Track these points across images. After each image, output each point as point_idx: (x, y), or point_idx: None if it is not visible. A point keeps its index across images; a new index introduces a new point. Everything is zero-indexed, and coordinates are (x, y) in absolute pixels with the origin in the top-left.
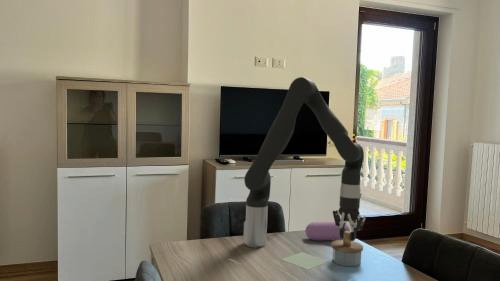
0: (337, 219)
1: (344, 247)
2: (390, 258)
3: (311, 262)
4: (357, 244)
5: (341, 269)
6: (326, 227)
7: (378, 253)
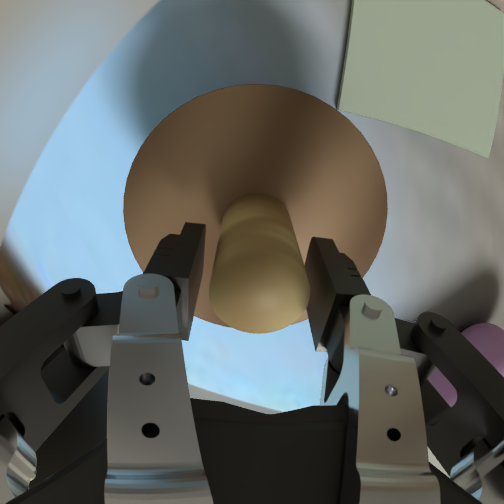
0: (458, 388)
1: (241, 147)
2: None
3: (401, 36)
4: (201, 292)
5: (224, 64)
6: (448, 395)
7: (200, 377)
